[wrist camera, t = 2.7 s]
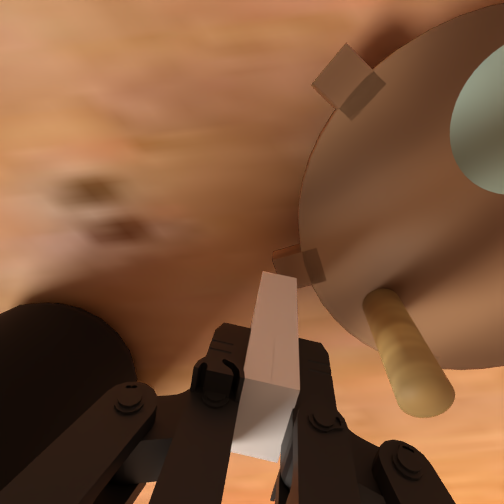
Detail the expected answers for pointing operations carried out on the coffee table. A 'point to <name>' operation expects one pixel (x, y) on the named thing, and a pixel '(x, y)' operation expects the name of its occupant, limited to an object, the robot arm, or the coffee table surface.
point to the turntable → (412, 206)
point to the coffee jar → (52, 376)
